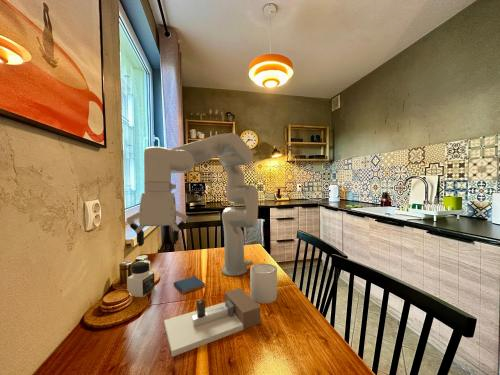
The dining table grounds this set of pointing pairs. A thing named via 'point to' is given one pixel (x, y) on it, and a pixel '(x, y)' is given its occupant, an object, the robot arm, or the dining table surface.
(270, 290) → the mug
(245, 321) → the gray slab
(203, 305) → the bolt
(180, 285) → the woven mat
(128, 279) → the medicine bottle
